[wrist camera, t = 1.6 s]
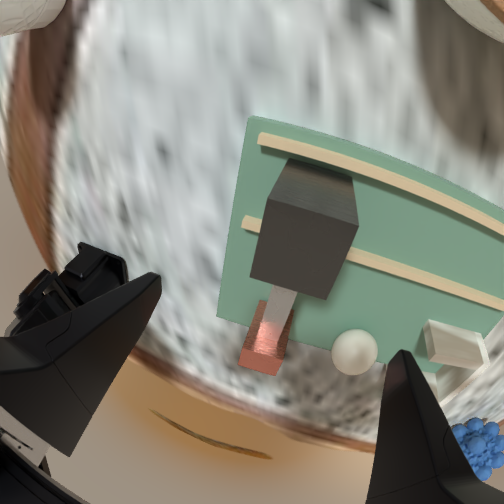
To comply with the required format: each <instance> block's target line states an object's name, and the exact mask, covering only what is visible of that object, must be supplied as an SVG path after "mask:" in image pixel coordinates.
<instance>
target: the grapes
mask: <svg viewBox="0 0 504 504" xmlns="http://www.w3.org/2000/svg"><path fill="white" fill-rule="evenodd" d="M499 431H500V429H499V425H498V424H497V423H495V422H488V423H487V424H486V425H485V426H484V424H483V421H482V420H481V419H479V418H473V419H471V420H470V421H469V422H468V424H467V427H465V426H464V425H456V426H455V427H454V428H453V429H452V432H453V434H454V436H455V438H456V440H457V442H458V444H459V445H460V447H461V449H462V451H463V453H464V455H465V456H466V458H467V460H468V462H469V464H470V466H471V467H472V469H473V471H474V473H475V474H476V476H477V477H478V478H479V479H480V480H481V481H484V480H487V479H488V478H489V477H490V476H491V474H492V468H500V467H501V466H503V464H504V454H503V453H502V452H500V451H503V450H504V435H498V434H499ZM491 467H492V468H491Z"/></svg>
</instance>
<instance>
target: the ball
mask: <svg viewBox="0 0 504 504" xmlns="http://www.w3.org/2000/svg"><path fill="white" fill-rule="evenodd" d="M377 354H378V348H377V343H376V341H375V339H374V338H373V336H372V335H371V334H370V333H368V332H367V331H364V330H362V329H350V330H347V331H345V332H343V333H342V334H340V335H339V336H338V337H337V338H336V340H335V341H334V343H333V346H332V350H331V356H332V361H333V363H334V365H335V367H336V368H337V369H338V370H339V371H341V372H342V373H344V374H347V375H359V374H362V373H364V372H366V371H368V370H369V369H370V368H371V367H372V366H373V364H374V363H375V361H376V358H377Z"/></svg>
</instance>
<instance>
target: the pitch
mask: <svg viewBox="0 0 504 504" xmlns="http://www.w3.org/2000/svg"><path fill="white" fill-rule="evenodd" d="M289 158H292V159H296V160H299V161H303V162H306V163H310V164H313V165H317V166H320V167H323V168H326V169H330V170H333V171H336V172H339V173H342V174H345V175H348V176H351V177H352V180H353V186H354V192H355V198H356V205H357V212H358V220H359V228H358V230H357V233H356V235H355V238H354V240H353V242H352V245H351V247H350V249H349V252H348V254H347V256H346V258H345V261H344V263H343V265H342V267H341V270H340V272H339V274H338V276H337V278H336V281H335V283H334V285H333V287H332V289H331V291H330V293H329V295H328V298H327V300H323V299H319V298H316V297H313V296H309V295H306V294H302V293H299V292H298V293H297V295H296V298H295V300H294V303H293V305H292V308H291V309H293V310H294V314H293V319H292V324H291V328H290V333H289V337H288V339H290V340H294V341H297V342H301V343H304V344H308V345H312V346H315V347H319V348H323V349H326V350H330V351H331V350H332V346H333V343H334V341H335V340H336V338H337V337H338V336H339V335H340V334H342V333H343V332H345V331H347V330H350V329H362V330H364V331H367V332H368V333H370V334H371V335H372V336H373V338H374V339H375V341H376V343H377V348H378V354H377V358H376V362H380V363H385V364H388V363H389V361H390V360H391V359H392V358H393V357H394V355H395V354H396V353H397V352H398V351H399V350H400V349H404V350H408V351H410V352H411V353H412V355H413V357H414V358H415V360H416V362H417V364H418V366H419V367H420V369H421V371H424V372H429V373H436V372H437V371H438V370H439V369H440V368H441V367H442V366H443V365H444V364H441V363H436V362H431V361H429V359H428V353H427V347H426V341H425V336H424V331H423V326H424V324H425V323H426V322H427V320H428V319H430V320H434V321H437V322H441V323H444V324H448V325H452V326H455V327H459V328H463V329H466V330H470V331H474V332H477V333H481V335H482V338H483V339H484V338H485V337H486V336H487V335H488V334H489V332H490V331H491V330H492V329H493V328H494V327H495V325H496V324H497V323H498V322H499V320H500V319H501V318H502V317H503V315H504V210H503V209H501V208H499V207H498V206H496V205H494V204H492V203H490V202H489V201H487V200H485V199H483V198H481V197H479V196H478V195H476V194H474V193H472V192H470V191H468V190H466V189H464V188H462V187H460V186H458V185H456V184H454V183H452V182H450V181H448V180H446V179H443V178H441V177H439V176H437V175H435V174H433V173H430V172H428V171H426V170H423V169H421V168H419V167H416V166H414V165H412V164H409V163H407V162H404V161H402V160H399V159H397V158H394V157H392V156H389V155H387V154H384V153H381V152H378V151H376V150H373V149H370V148H367V147H365V146H362V145H359V144H356V143H353V142H350V141H347V140H344V139H340V138H337V137H334V136H331V135H327V134H324V133H321V132H317V131H314V130H310V129H307V128H303V127H299V126H295V125H292V124H288V123H284V122H279V121H275V120H271V119H267V118H262V117H258V116H251V117H249V118H248V122H247V127H246V133H245V138H244V144H243V149H242V155H241V161H240V167H239V172H238V178H237V184H236V190H235V196H234V202H233V208H232V215H231V221H230V227H229V234H228V240H227V246H226V253H225V260H224V266H223V273H222V280H221V287H220V294H219V301H218V308H217V315H216V316H217V317H220V318H223V319H226V320H229V321H232V322H235V323H238V324H241V325H244V326H247V327H250V325H251V323H252V320H253V317H254V314H255V311H256V308H257V306H258V303H259V300H263V301H266V302H268V299H269V295H270V292H271V289H272V286H273V284H269V283H266V282H263V281H260V280H256V279H253V278H250V277H249V276H250V272H251V267H252V263H253V258H254V254H255V250H256V245H257V241H258V236H259V232H260V228H261V223H262V219H263V214H264V210H265V206H266V201H267V197H268V196H269V194H270V192H271V190H272V188H273V186H274V184H275V183H276V181H277V179H278V177H279V175H280V173H281V172H282V170H283V168H284V166H285V164H286V162H287V160H288V159H289Z"/></svg>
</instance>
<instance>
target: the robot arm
mask: <svg viewBox="0 0 504 504" xmlns="http://www.w3.org/2000/svg"><path fill="white" fill-rule="evenodd" d="M78 251H79V254H78V255H77V256H76V257H75V258H74V259H73V260H71V261H70V262H69V263H68V264H67V265H66V266H65V267H64V268H65V270H64V271H63V272H62V273H61V274H60V275H59V276H58V273H57V272H56V271H53V272H52V273H51V272H49V271H48V270H46V269H44V270H43V271H41V272H40V273H39V274H38V275H37V276H36V277H35V278H34V279H33V280H32V281H31V282H30V283H29V285H28V286H27V287H26V288H25V289H24V290H23V291H22V293H20V295H19V303H18V304H17V307H16V309H15V310H14V314H15V315H16V318H15V319H14V320H13V322H12V323H11V324H10V325H9V326H8V327H7V329H6V330H5V335H4V337H0V504H90V503H88V502H87V501H85V500H83V499H82V498H80V497H79V496H77V495H76V494H74V493H73V492H71V491H70V490H68V489H67V488H65V487H64V486H62V485H61V484H59V483H58V482H57V481H55V480H54V479H52V478H51V474H50V471H49V467H48V464H47V460H46V456H45V453H46V452H47V450H48V449H49V447H50V445H51V446H52V447H54V448H56V449H57V450H58V451H60V452H61V453H63V454H65V455H66V456H68V457H70V456H71V454H72V452H73V451H74V449H75V447H76V445H77V443H78V441H79V439H80V437H81V436H82V434H83V432H84V430H85V428H86V427H87V425H88V423H89V421H90V420H91V418H92V415H93V414H94V412H95V411H96V409H97V407H98V406H99V404H100V402H101V400H102V399H103V397H104V395H105V393H106V392H107V390H108V388H109V386H110V385H111V383H112V382H113V380H114V378H115V377H116V375H117V373H118V372H119V370H120V368H121V367H122V365H123V363H124V362H125V360H126V359H127V357H128V355H129V354H130V352H131V350H132V349H133V347H134V346H135V344H136V342H137V341H138V339H139V338H140V336H141V334H142V333H143V331H144V329H145V327H146V325H147V323H148V321H149V319H150V317H151V315H152V313H153V311H154V309H155V307H156V305H157V303H158V301H159V299H160V297H161V293H162V284H161V276H160V275H159V274H156V273H153V272H148V273H146V274H144V275H142V276H140V277H138V278H136V279H134V280H132V281H130V282H128V283H127V280H126V272H125V265H124V260H123V259H122V258H121V257H119V256H116V255H114V254H111V253H109V252H106V251H103V250H101V249H98V248H96V247H93V246H91V245H88V244H86V243H83V242H80V243H79V244H78ZM43 291H44V293H45V295H44V293H43ZM365 504H504V492H502V491H500V490H498V489H496V488H494V487H491V486H490V485H488V484H485V483H484V482H482V481H481V480H480V479H479V478H478V477H477V476H476V474H475V473H474V471H473V469H472V467H471V466H470V464H469V462H468V460H467V458H466V456H465V455H464V453H463V451H462V449H461V447H460V445H459V444H458V442H457V440H456V438H455V436H454V434H453V432H452V429H451V427H450V425H449V423H448V421H447V419H446V417H445V415H444V413H443V411H442V409H441V407H440V405H439V403H438V401H437V399H436V397H435V395H434V393H433V391H432V390H431V388H430V386H429V384H428V382H427V380H426V378H425V376H424V375H423V373H422V371H421V369H420V367H419V366H418V364H417V362H416V360H415V358H414V357H413V355H412V353H411V352H410V351H408V350H404V349H400V350H399V351H398V352H397V353H396V354H395V355H394V357H393V358H392V359H391V360H390V361H389V363H388V366H387V371H386V377H385V383H384V389H383V394H382V400H381V408H380V418H379V427H378V435H377V443H376V450H375V457H374V463H373V468H372V474H371V479H370V485H369V490H368V494H367V500H366V503H365Z"/></svg>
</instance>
